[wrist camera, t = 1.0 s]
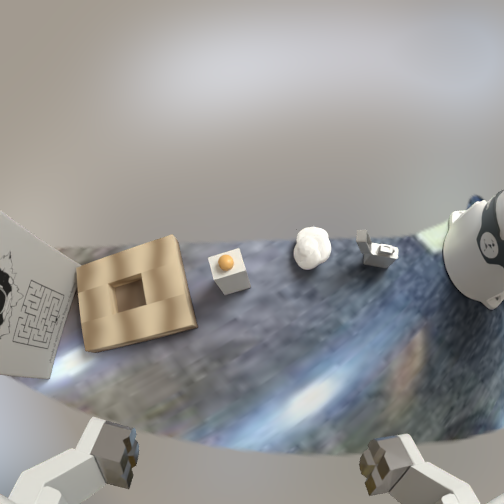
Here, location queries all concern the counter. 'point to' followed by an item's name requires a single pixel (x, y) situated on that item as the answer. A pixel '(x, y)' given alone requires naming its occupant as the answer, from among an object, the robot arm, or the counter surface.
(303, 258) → the dumpling
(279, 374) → the counter surface
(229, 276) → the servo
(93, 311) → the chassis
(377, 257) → the lighter
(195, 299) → the counter surface
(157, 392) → the counter surface
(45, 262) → the cereal box
